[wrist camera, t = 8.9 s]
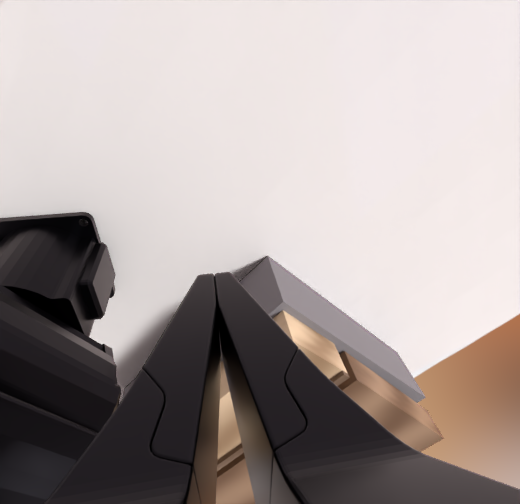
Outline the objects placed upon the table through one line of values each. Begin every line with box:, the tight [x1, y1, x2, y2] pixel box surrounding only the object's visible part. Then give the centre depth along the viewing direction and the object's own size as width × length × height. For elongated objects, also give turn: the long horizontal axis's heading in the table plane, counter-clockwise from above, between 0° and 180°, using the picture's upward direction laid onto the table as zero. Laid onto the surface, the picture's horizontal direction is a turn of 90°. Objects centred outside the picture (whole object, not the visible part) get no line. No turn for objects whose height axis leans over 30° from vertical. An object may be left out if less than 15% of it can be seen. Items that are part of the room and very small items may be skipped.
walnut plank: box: [216, 351, 443, 504], centre depth 29 cm, size 12×17×2 cm
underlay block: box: [123, 256, 425, 403], centre depth 30 cm, size 19×18×5 cm
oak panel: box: [217, 310, 350, 471], centre depth 24 cm, size 5×17×3 cm, turn 135°
